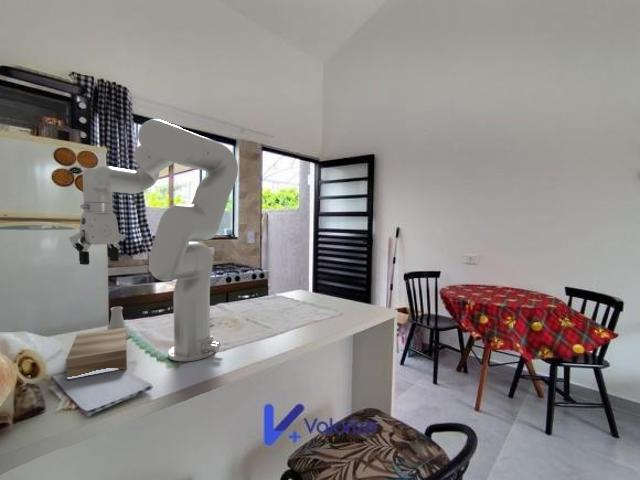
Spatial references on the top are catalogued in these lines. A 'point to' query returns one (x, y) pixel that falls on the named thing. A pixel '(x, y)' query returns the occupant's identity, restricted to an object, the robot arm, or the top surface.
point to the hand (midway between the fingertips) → (99, 262)
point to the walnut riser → (97, 352)
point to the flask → (118, 320)
